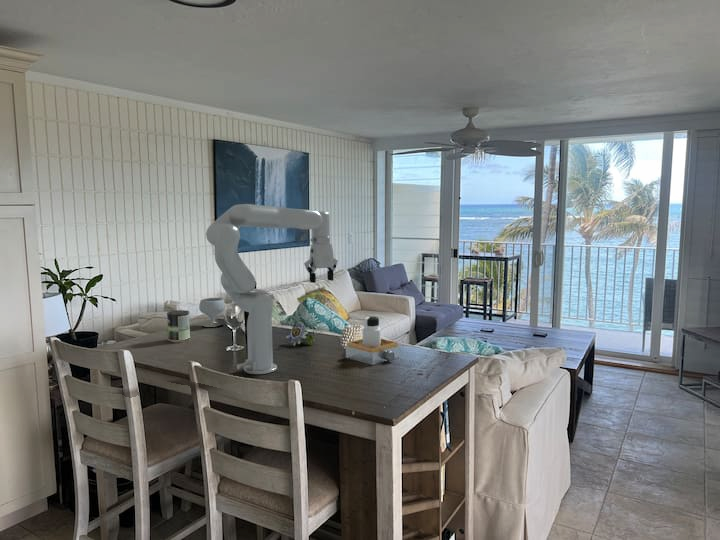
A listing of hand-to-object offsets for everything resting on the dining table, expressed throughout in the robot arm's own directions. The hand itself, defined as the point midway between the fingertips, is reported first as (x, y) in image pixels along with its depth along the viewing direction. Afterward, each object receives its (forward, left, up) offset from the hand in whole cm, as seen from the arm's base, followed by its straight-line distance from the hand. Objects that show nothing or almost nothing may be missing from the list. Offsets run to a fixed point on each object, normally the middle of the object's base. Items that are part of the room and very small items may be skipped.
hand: (321, 281), depth 215 cm
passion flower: (+6, +24, -33) cm, 41 cm away
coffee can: (-31, +73, -32) cm, 86 cm away
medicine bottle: (+13, -17, -27) cm, 34 cm away
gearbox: (+13, -19, -32) cm, 39 cm away
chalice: (-3, +92, -32) cm, 98 cm away
